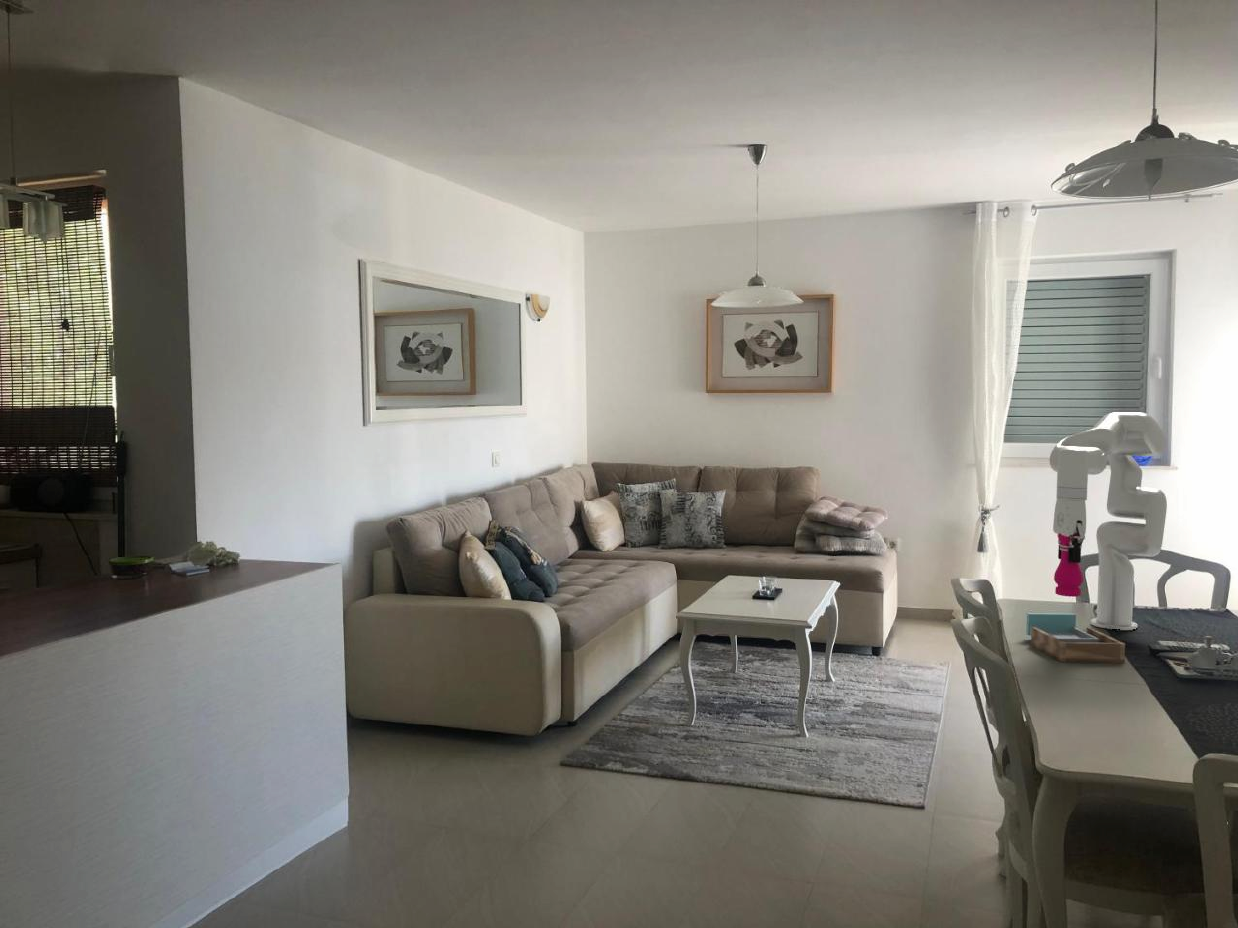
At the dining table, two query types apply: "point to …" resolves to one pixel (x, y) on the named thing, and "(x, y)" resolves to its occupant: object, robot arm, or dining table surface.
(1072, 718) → the dining table surface
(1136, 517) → the robot arm
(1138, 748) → the dining table surface
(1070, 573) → the pepper mill
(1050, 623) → the drawer
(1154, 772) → the dining table surface
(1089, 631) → the cubby
